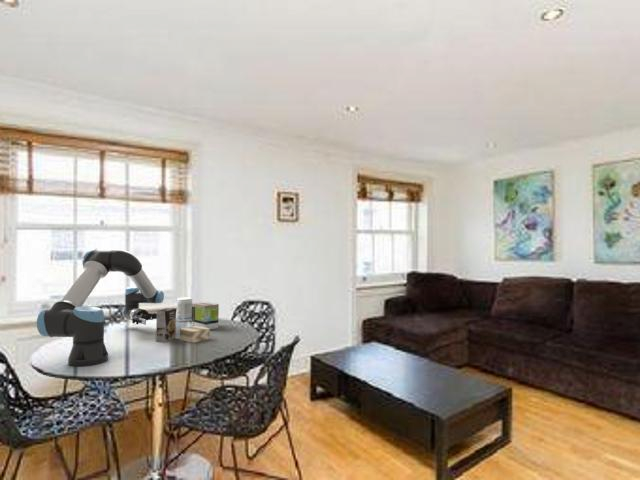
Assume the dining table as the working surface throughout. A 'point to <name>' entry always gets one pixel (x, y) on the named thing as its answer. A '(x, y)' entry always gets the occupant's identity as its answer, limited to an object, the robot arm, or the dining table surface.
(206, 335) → the birch block
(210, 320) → the tea box
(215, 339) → the dining table surface
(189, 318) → the supplement tub
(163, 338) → the coffee box
